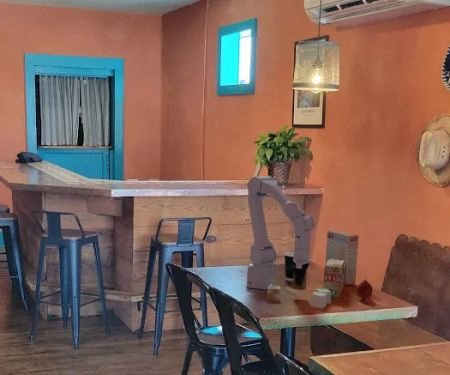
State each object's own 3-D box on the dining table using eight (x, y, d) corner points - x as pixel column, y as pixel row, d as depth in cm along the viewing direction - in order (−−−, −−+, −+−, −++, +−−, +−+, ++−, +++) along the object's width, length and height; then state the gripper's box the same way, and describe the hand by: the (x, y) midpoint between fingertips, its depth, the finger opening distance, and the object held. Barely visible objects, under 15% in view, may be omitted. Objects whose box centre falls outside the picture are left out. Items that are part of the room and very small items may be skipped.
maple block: (267, 300, 227) (267, 288, 226) (266, 297, 231) (267, 285, 231) (279, 301, 226) (280, 289, 226) (278, 297, 231) (279, 286, 231)
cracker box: (356, 284, 256) (359, 235, 254) (344, 285, 253) (348, 235, 251) (334, 276, 268) (338, 229, 266) (323, 277, 265) (327, 229, 263)
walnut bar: (292, 288, 230) (293, 272, 229) (294, 285, 234) (295, 270, 233) (304, 289, 229) (305, 274, 228) (305, 287, 233) (307, 271, 232)
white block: (310, 306, 222) (311, 294, 221) (314, 303, 226) (315, 291, 225) (322, 308, 220) (323, 296, 219) (326, 305, 224) (326, 293, 223)
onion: (372, 298, 236) (374, 278, 235) (371, 302, 230) (372, 281, 230) (357, 296, 238) (358, 276, 237) (355, 300, 232) (356, 279, 231)
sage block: (318, 304, 225) (319, 292, 225) (314, 300, 230) (315, 288, 229) (330, 304, 226) (331, 292, 226) (326, 300, 231) (327, 288, 230)
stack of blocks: (329, 283, 256) (331, 254, 255) (344, 285, 255) (347, 256, 253) (322, 296, 236) (324, 264, 235) (338, 298, 234) (341, 266, 233)
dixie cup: (297, 277, 264) (299, 252, 263) (303, 282, 256) (305, 256, 255) (279, 277, 262) (281, 251, 261) (285, 282, 254) (287, 256, 253)
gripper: (311, 252, 222) (308, 289, 223) (314, 245, 236) (312, 279, 237) (291, 250, 223) (289, 287, 225) (296, 243, 237) (293, 277, 239)
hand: (299, 283), depth 231 cm, fingers closed on walnut bar, 4 cm apart
